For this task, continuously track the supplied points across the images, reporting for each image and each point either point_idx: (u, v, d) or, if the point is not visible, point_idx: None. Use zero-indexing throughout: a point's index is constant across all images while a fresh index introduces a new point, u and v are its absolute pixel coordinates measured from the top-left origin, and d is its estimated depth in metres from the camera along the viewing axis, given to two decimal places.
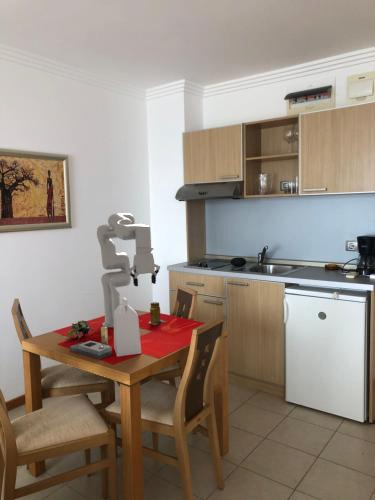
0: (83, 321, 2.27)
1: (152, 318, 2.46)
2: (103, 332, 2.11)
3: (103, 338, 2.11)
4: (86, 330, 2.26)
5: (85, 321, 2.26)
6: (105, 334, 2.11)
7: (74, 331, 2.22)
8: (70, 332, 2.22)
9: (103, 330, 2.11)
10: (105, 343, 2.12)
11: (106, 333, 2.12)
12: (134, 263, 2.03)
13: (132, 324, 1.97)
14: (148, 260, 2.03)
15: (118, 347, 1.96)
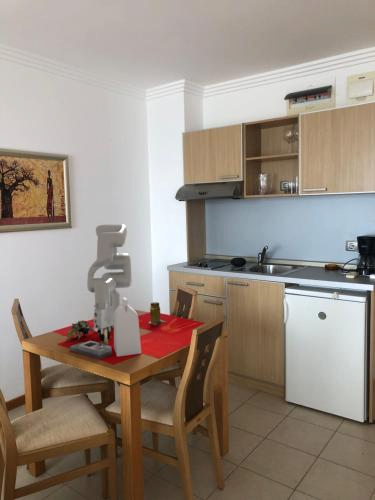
0: (83, 321, 2.27)
1: (152, 318, 2.46)
2: (103, 332, 2.11)
3: None
4: (86, 330, 2.26)
5: (85, 321, 2.26)
6: (105, 334, 2.11)
7: (74, 331, 2.22)
8: (70, 332, 2.22)
9: (103, 330, 2.11)
10: (105, 343, 2.12)
11: (106, 333, 2.12)
12: None
13: (132, 324, 1.97)
14: None
15: (118, 347, 1.96)
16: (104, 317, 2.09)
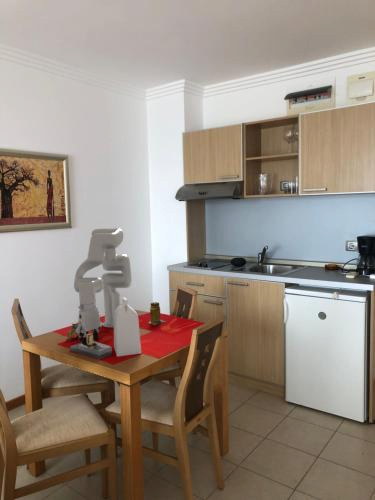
0: None
1: (152, 318, 2.46)
2: (89, 340, 2.00)
3: (89, 346, 2.00)
4: None
5: None
6: (91, 342, 2.00)
7: (74, 331, 2.22)
8: (70, 332, 2.22)
9: (89, 337, 2.00)
10: None
11: (92, 341, 2.01)
12: None
13: (132, 324, 1.97)
14: None
15: (118, 347, 1.96)
16: (89, 319, 1.97)
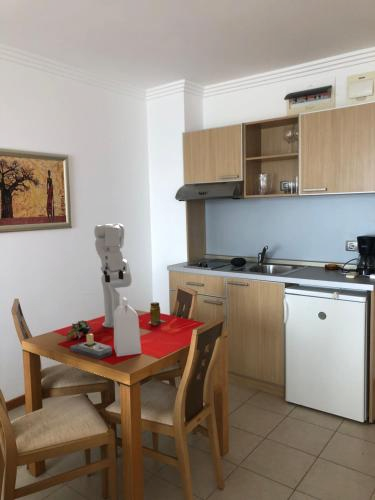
0: (83, 321, 2.27)
1: (152, 318, 2.46)
2: (89, 340, 2.00)
3: (89, 346, 2.00)
4: (86, 330, 2.26)
5: (85, 321, 2.26)
6: (91, 342, 2.00)
7: (74, 331, 2.22)
8: (70, 332, 2.22)
9: (89, 337, 2.00)
10: None
11: (92, 341, 2.01)
12: None
13: (132, 324, 1.97)
14: None
15: (118, 347, 1.96)
16: (114, 260, 2.20)
